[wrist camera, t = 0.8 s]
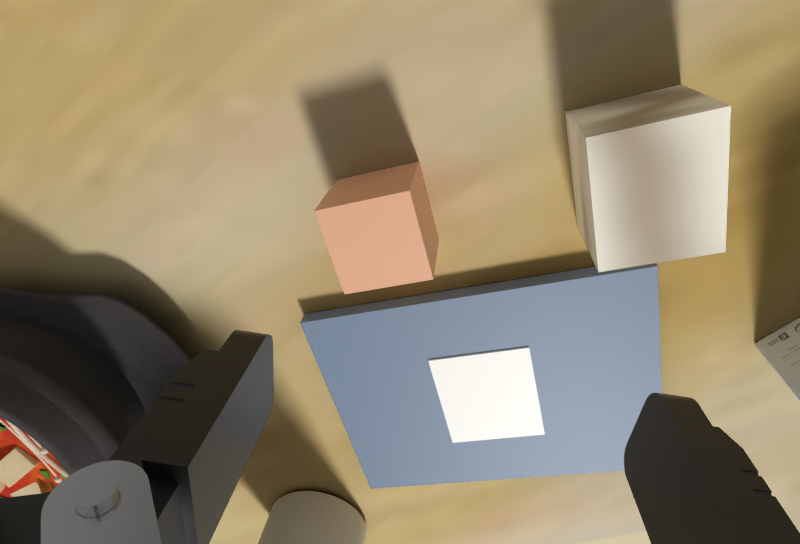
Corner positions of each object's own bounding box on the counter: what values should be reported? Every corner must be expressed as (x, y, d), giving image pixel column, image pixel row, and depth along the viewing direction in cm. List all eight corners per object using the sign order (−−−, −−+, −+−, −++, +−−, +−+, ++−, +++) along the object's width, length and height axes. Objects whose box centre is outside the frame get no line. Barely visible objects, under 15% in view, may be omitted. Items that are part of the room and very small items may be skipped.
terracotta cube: (419, 160, 25) (409, 190, 21) (438, 238, 27) (433, 279, 23) (337, 179, 26) (313, 210, 23) (362, 253, 28) (344, 294, 24)
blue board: (651, 257, 26) (658, 267, 25) (659, 455, 33) (664, 468, 32) (305, 313, 31) (299, 323, 30) (373, 477, 37) (370, 489, 37)
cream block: (679, 83, 22) (730, 105, 18) (680, 207, 25) (725, 251, 21) (564, 111, 23) (585, 137, 19) (577, 226, 26) (598, 272, 22)
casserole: (114, 215, 29) (-4, 288, 22) (273, 433, 37) (225, 542, 29) (-136, 327, 37) (-286, 410, 29) (39, 490, 44) (-46, 588, 37)
